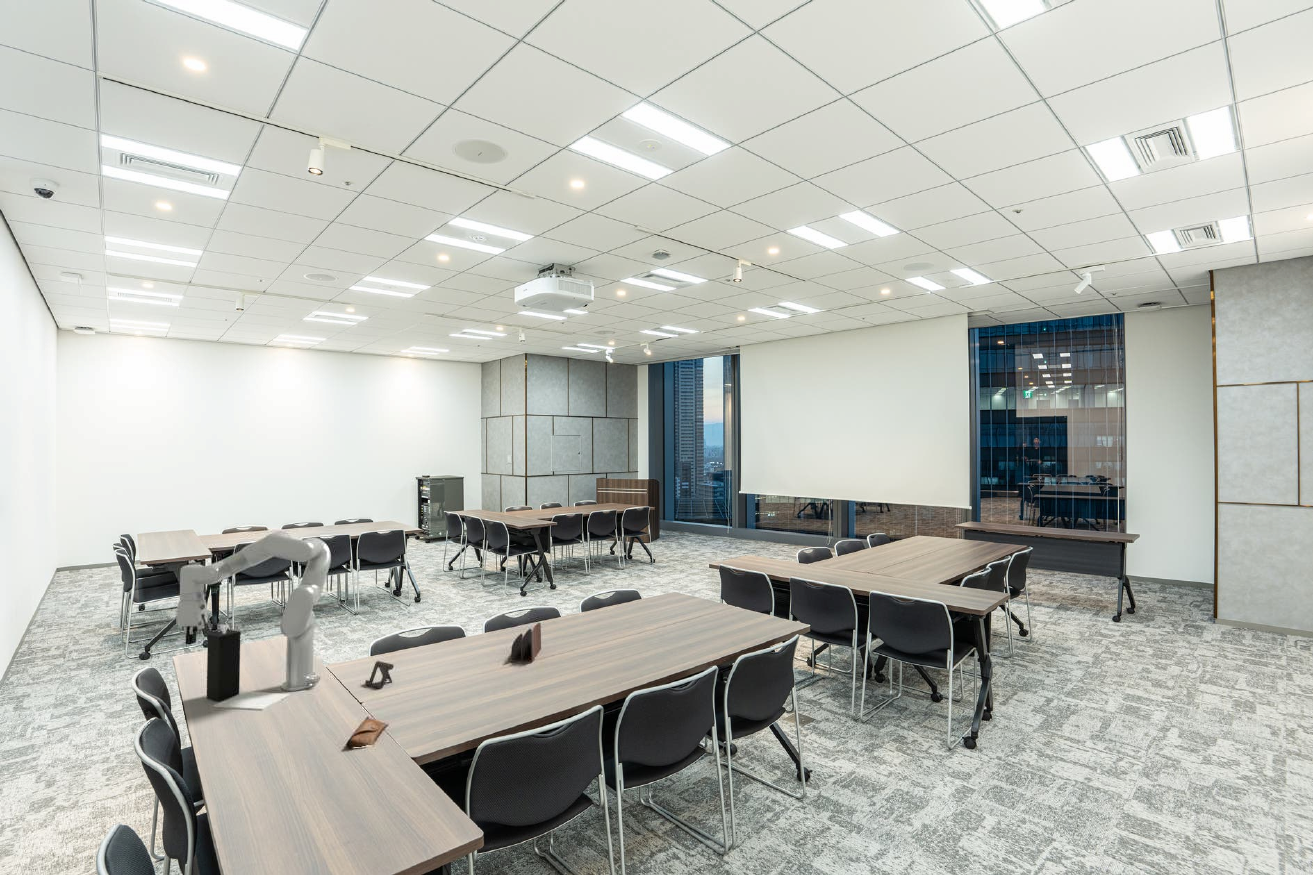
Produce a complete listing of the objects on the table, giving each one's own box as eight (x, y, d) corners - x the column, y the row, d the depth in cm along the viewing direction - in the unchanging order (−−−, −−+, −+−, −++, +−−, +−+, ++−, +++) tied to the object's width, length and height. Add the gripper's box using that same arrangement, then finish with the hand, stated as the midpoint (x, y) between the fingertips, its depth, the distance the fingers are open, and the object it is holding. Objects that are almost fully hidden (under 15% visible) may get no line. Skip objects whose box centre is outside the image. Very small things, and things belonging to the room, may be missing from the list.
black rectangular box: (239, 694, 241) (241, 623, 242) (218, 702, 234) (219, 628, 235) (227, 691, 244) (228, 620, 245) (205, 698, 237) (207, 625, 238)
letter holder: (541, 649, 298) (541, 620, 299) (532, 663, 279) (532, 631, 279) (520, 649, 299) (521, 620, 299) (510, 663, 279) (510, 631, 279)
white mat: (290, 695, 241) (290, 694, 241) (262, 710, 227) (262, 708, 227) (244, 692, 243) (244, 691, 243) (214, 706, 230) (214, 705, 230)
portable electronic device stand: (364, 685, 251) (365, 665, 251) (381, 679, 258) (381, 659, 258) (379, 689, 247) (379, 668, 247) (395, 683, 254) (396, 662, 254)
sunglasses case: (374, 747, 198) (363, 730, 197) (354, 760, 197) (343, 742, 196) (389, 723, 216) (379, 707, 215) (371, 734, 215) (361, 718, 214)
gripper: (216, 595, 245) (215, 641, 245) (183, 593, 247) (182, 639, 247) (200, 599, 238) (199, 647, 237) (166, 598, 240) (165, 645, 239)
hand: (190, 643), depth 242 cm, fingers closed
